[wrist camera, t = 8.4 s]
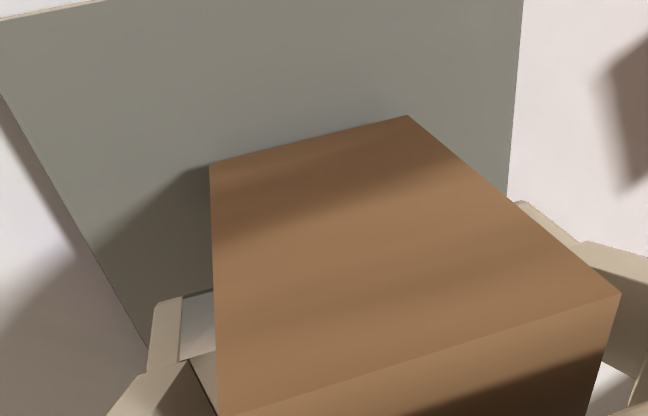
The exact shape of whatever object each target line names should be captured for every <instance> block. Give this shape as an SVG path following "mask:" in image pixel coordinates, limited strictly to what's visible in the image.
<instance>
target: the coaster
mask: <svg viewBox="0 0 648 416" xmlns="http://www.w3.org/2000/svg"><path fill="white" fill-rule="evenodd" d="M523 1H524V0H90V1H85V2H80V3H75V4H70V5H65V6H60V7H55V8H50V9H45V10H39V11H34V12H29V13H24V14H19V15H14V16H9V17H4V18H0V93H1V95H2V97H3V99H4V100H5V102H6V104H7V105H8V107H9V109H10V111H11V112H12V114H13V116H14V118H15V119H16V121H17V123H18V125H19V126H20V128H21V130H22V132H23V133H24V135H25V137H26V138H27V140H28V142H29V144H30V145H31V147H32V149H33V151H34V152H35V154H36V156H37V158H38V159H39V161H40V163H41V164H42V166H43V168H44V170H45V171H46V173H47V175H48V177H49V178H50V180H51V182H52V184H53V185H54V187H55V189H56V190H57V192H58V194H59V196H60V197H61V199H62V201H63V203H64V204H65V206H66V208H67V210H68V211H69V213H70V215H71V217H72V218H73V220H74V222H75V223H76V225H77V227H78V229H79V230H80V232H81V234H82V236H83V237H84V239H85V241H86V243H87V244H88V246H89V248H90V249H91V251H92V253H93V255H94V256H95V258H96V260H97V262H98V263H99V265H100V267H101V269H102V270H103V272H104V274H105V275H106V277H107V279H108V281H109V282H110V284H111V286H112V288H113V289H114V291H115V293H116V295H117V296H118V298H119V300H120V302H121V303H122V305H123V307H124V308H125V310H126V312H127V314H128V315H129V317H130V319H131V321H132V322H133V324H134V326H135V328H136V329H137V331H138V333H139V334H140V336H141V338H142V340H143V341H144V343H145V345H146V347H147V348H148V350H149V346H150V338H151V330H152V323H153V315H154V308H155V307H156V305H157V303H158V302H161V301H165V300H169V299H173V298H176V297H180V296H184V295H186V294H190V293H194V292H198V291H202V290H206V289H210V288H213V260H212V233H211V206H210V179H209V164H211V163H215V162H219V161H223V160H227V159H231V158H235V157H239V156H243V155H247V154H251V153H255V152H259V151H263V150H267V149H271V148H275V147H279V146H283V145H287V144H291V143H295V142H299V141H303V140H307V139H311V138H315V137H319V136H323V135H327V134H331V133H335V132H340V131H344V130H348V129H352V128H356V127H360V126H364V125H368V124H372V123H376V122H380V121H384V120H388V119H392V118H396V117H400V116H404V115H409V116H410V117H411V118H412V119H413V120H415V121H416V122H417V123H418V124H419V125H421V126H422V127H423V128H424V129H425V130H427V131H428V132H429V133H430V134H431V135H433V136H434V137H435V138H436V139H437V140H439V141H440V142H441V143H442V144H443V145H445V146H446V147H447V148H448V149H449V150H451V151H452V152H453V153H454V154H455V155H457V156H458V157H459V158H460V159H461V160H463V161H464V162H465V163H466V164H467V165H469V166H470V167H471V168H472V169H473V170H475V171H476V172H477V173H478V174H479V175H481V176H482V177H483V178H484V179H486V180H487V181H488V182H489V183H490V184H492V185H493V186H494V187H495V188H496V189H498V190H499V191H500V192H501V193H502V194H504V195H505V196H506V195H507V184H508V173H509V161H510V150H511V138H512V127H513V115H514V104H515V92H516V81H517V69H518V58H519V46H520V35H521V23H522V12H523Z"/></svg>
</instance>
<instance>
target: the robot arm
mask: <svg viewBox="0 0 648 416" xmlns="http://www.w3.org/2000/svg"><path fill="white" fill-rule="evenodd" d="M514 204H516V205H517V206H518V207H519V208H520V209H522V210H523V211H524V212H525V213H526V214H528V215H529V216H530V217H531V218H532V219H534V220H535V221H536V222H537V223H538V224H540V225H541V226H542V227H543V228H544V229H546V230H547V231H548V232H549V233H550V234H552V235H553V236H554V237H555V238H556V239H558V240H559V241H560V242H561V243H562V244H564V245H565V246H566V247H567V248H568V249H570V250H571V251H572V252H573V253H575V254H576V255H577V256H578V257H579V258H581V259H582V260H583V261H584V262H585V263H587V264H588V265H589V266H590V267H591V268H593V269H594V270H595V271H596V272H597V273H599V274H600V275H601V276H602V277H603V278H605V279H606V280H607V281H608V282H609V283H611V284H612V285H613V286H614V287H615V288H617V289H618V290H619V291H620V292H621V293H622V295H621V298H620V301H619V305H618V308H617V311H616V315H615V318H614V321H613V325H612V328H611V331H610V335H609V338H608V341H607V345H606V348H605V351H604V354H603V358H602V362H604V363H606V364H608V365H610V366H612V367H614V368H615V369H617V370H619V371H621V372H623V373H625V374H627V375H629V376H630V377H632V378H634V379H636V382H635V385H634V387H633V390H632V392H631V395H630V398H629V401H628V408H626V409H624V410H621V411H618V412H615V413H612V414H609V415H606V416H648V257H645V256H641V255H637V254H634V253H630V252H626V251H623V250H619V249H615V248H612V247H608V246H605V245H601V244H597V243H594V242H590V241H585V242H581V243H580V242H578V241H577V240H576V239H575V238H573V237H572V236H571V235H570V234H568V233H567V232H566V231H564V230H563V229H562V228H561V227H559V226H558V225H557V224H555V223H554V222H553V221H552V220H550V219H549V218H548V217H547V216H545V215H544V214H543V213H541V212H540V211H539V210H538V209H536V208H535V207H534V206H532V205H531V204H530V203H529V202H526V201H522V200H520V201H517V202H514ZM106 416H218V396H217V369H216V342H215V315H214V288H210V289H206V290H202V291H198V292H194V293H190V294H186V295H184V296H180V297H176V298H173V299H169V300H165V301H161V302H158V303H157V305H156V307H155V308H154V315H153V323H152V330H151V338H150V346H149V353H148V361H147V369H146V373H142V374H139V375H137V376H136V378H135V379H134V380H133V381H132V383H131V384H130V385H129V387H128V388H127V389H126V390H125V392H124V393H123V394H122V396H121V397H120V398H119V399H118V401H117V402H116V403H115V405H114V406H113V407H112V408H111V410H110V411H109V412H108V413H107V415H106Z"/></svg>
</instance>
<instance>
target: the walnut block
mask: <svg viewBox="0 0 648 416" xmlns="http://www.w3.org/2000/svg"><path fill="white" fill-rule="evenodd" d="M209 179H210V206H211V233H212V260H213V288H214V315H215V342H216V369H217V396H218V416H585V414H586V411H587V407H588V404H589V401H590V398H591V394H592V391H593V388H594V384H595V381H596V378H597V374H598V371H599V368H600V364H601V361H602V358H603V354H604V351H605V348H606V345H607V341H608V338H609V335H610V331H611V328H612V325H613V321H614V318H615V315H616V311H617V308H618V305H619V301H620V298H621V295H622V293H621V292H620V291H619V290H618V289H617V288H615V287H614V286H613V285H612V284H611V283H609V282H608V281H607V280H606V279H605V278H603V277H602V276H601V275H600V274H599V273H597V272H596V271H595V270H594V269H593V268H591V267H590V266H589V265H588V264H587V263H585V262H584V261H583V260H582V259H581V258H579V257H578V256H577V255H576V254H575V253H573V252H572V251H571V250H570V249H568V248H567V247H566V246H565V245H564V244H562V243H561V242H560V241H559V240H558V239H556V238H555V237H554V236H553V235H552V234H550V233H549V232H548V231H547V230H546V229H544V228H543V227H542V226H541V225H540V224H538V223H537V222H536V221H535V220H534V219H532V218H531V217H530V216H529V215H528V214H526V213H525V212H524V211H523V210H522V209H520V208H519V207H518V206H517V205H516V204H514V203H513V202H512V201H511V200H510V199H508V198H507V197H506V196H505V195H504V194H502V193H501V192H500V191H499V190H498V189H496V188H495V187H494V186H493V185H492V184H490V183H489V182H488V181H487V180H486V179H484V178H483V177H482V176H481V175H479V174H478V173H477V172H476V171H475V170H473V169H472V168H471V167H470V166H469V165H467V164H466V163H465V162H464V161H463V160H461V159H460V158H459V157H458V156H457V155H455V154H454V153H453V152H452V151H451V150H449V149H448V148H447V147H446V146H445V145H443V144H442V143H441V142H440V141H439V140H437V139H436V138H435V137H434V136H433V135H431V134H430V133H429V132H428V131H427V130H425V129H424V128H423V127H422V126H421V125H419V124H418V123H417V122H416V121H415V120H413V119H412V118H411V117H410V116H409V115H404V116H400V117H396V118H392V119H388V120H384V121H380V122H376V123H372V124H368V125H364V126H360V127H356V128H352V129H348V130H344V131H340V132H335V133H331V134H327V135H323V136H319V137H315V138H311V139H307V140H303V141H299V142H295V143H291V144H287V145H283V146H279V147H275V148H271V149H267V150H263V151H259V152H255V153H251V154H247V155H243V156H239V157H235V158H231V159H227V160H223V161H219V162H215V163H211V164H209Z"/></svg>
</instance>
